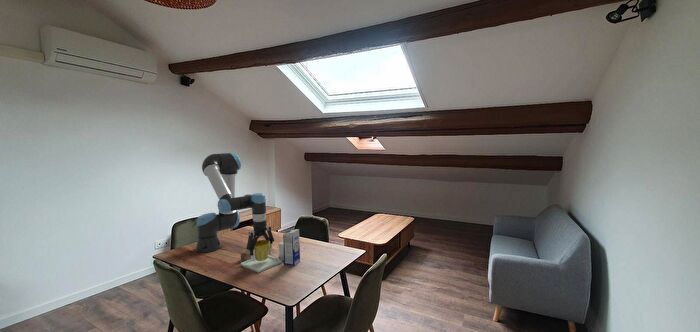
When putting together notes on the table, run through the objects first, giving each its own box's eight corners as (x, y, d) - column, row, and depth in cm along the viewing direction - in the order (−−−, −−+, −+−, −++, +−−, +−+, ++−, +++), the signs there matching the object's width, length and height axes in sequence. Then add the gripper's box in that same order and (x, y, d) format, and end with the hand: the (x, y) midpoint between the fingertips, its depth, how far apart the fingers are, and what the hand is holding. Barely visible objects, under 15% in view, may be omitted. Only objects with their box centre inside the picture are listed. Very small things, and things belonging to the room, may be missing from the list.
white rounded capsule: (276, 258, 178) (275, 243, 177) (285, 254, 184) (284, 240, 183) (284, 260, 174) (283, 246, 173) (292, 256, 179) (292, 242, 179)
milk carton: (294, 266, 166) (292, 232, 164) (283, 264, 168) (282, 231, 166) (300, 261, 172) (299, 228, 171) (290, 260, 175) (289, 227, 173)
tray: (240, 265, 168) (240, 263, 168) (264, 256, 181) (264, 253, 181) (258, 272, 158) (258, 270, 158) (282, 262, 172) (282, 259, 171)
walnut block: (240, 260, 175) (240, 252, 175) (246, 257, 180) (246, 249, 180) (247, 261, 174) (247, 253, 173) (253, 258, 178) (252, 250, 178)
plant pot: (265, 263, 163) (264, 246, 163) (248, 261, 165) (247, 245, 165) (273, 255, 174) (273, 240, 173) (257, 254, 176) (257, 239, 175)
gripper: (246, 226, 156) (248, 265, 158) (279, 216, 174) (281, 252, 176) (238, 224, 161) (240, 262, 163) (271, 215, 179) (273, 250, 181)
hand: (261, 257), depth 169 cm, fingers closed on plant pot, 10 cm apart
